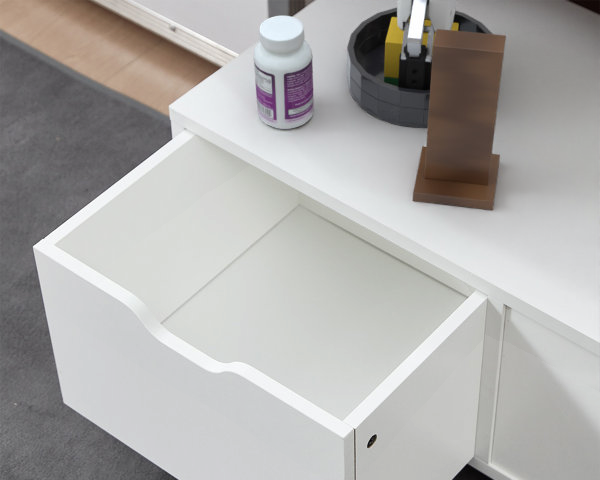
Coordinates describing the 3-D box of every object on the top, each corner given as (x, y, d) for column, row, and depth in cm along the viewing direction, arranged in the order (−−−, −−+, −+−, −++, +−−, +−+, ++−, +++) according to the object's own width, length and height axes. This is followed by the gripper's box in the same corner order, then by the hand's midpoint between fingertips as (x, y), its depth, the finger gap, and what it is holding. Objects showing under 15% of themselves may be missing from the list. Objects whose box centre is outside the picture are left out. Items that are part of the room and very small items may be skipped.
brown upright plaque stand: (499, 162, 111) (516, 21, 100) (492, 210, 106) (510, 68, 95) (421, 154, 112) (431, 13, 101) (412, 201, 107) (421, 59, 96)
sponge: (454, 67, 120) (458, 22, 116) (450, 93, 117) (453, 48, 113) (390, 61, 121) (391, 16, 117) (383, 87, 118) (385, 41, 114)
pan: (500, 46, 123) (504, 12, 120) (487, 135, 113) (491, 100, 110) (360, 33, 125) (360, -1, 122) (336, 119, 115) (336, 84, 112)
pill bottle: (314, 95, 118) (312, 10, 111) (313, 130, 114) (311, 44, 107) (258, 96, 118) (253, 10, 111) (255, 131, 114) (250, 44, 107)
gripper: (465, -48, 98) (451, 121, 111) (485, -149, 110) (470, 13, 123) (373, -55, 100) (369, 112, 112) (402, -155, 111) (395, 7, 124)
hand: (422, 60), depth 117 cm, fingers open, 9 cm apart
